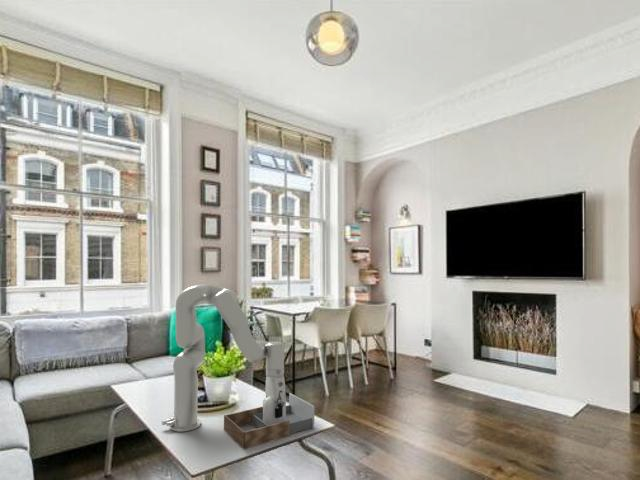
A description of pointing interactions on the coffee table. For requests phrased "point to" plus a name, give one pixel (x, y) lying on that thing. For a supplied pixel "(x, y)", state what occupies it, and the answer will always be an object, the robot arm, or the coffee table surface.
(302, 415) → the sliding tray
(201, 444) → the coffee table surface
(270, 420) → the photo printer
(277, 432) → the walnut housing
